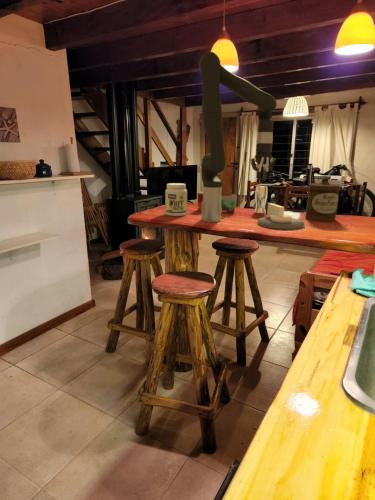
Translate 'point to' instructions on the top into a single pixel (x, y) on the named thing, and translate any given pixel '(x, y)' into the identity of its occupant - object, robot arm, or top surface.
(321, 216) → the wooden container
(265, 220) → the dial base
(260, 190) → the beer glass
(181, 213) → the supplement tub
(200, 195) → the canned food
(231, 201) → the food container
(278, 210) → the dial lever
